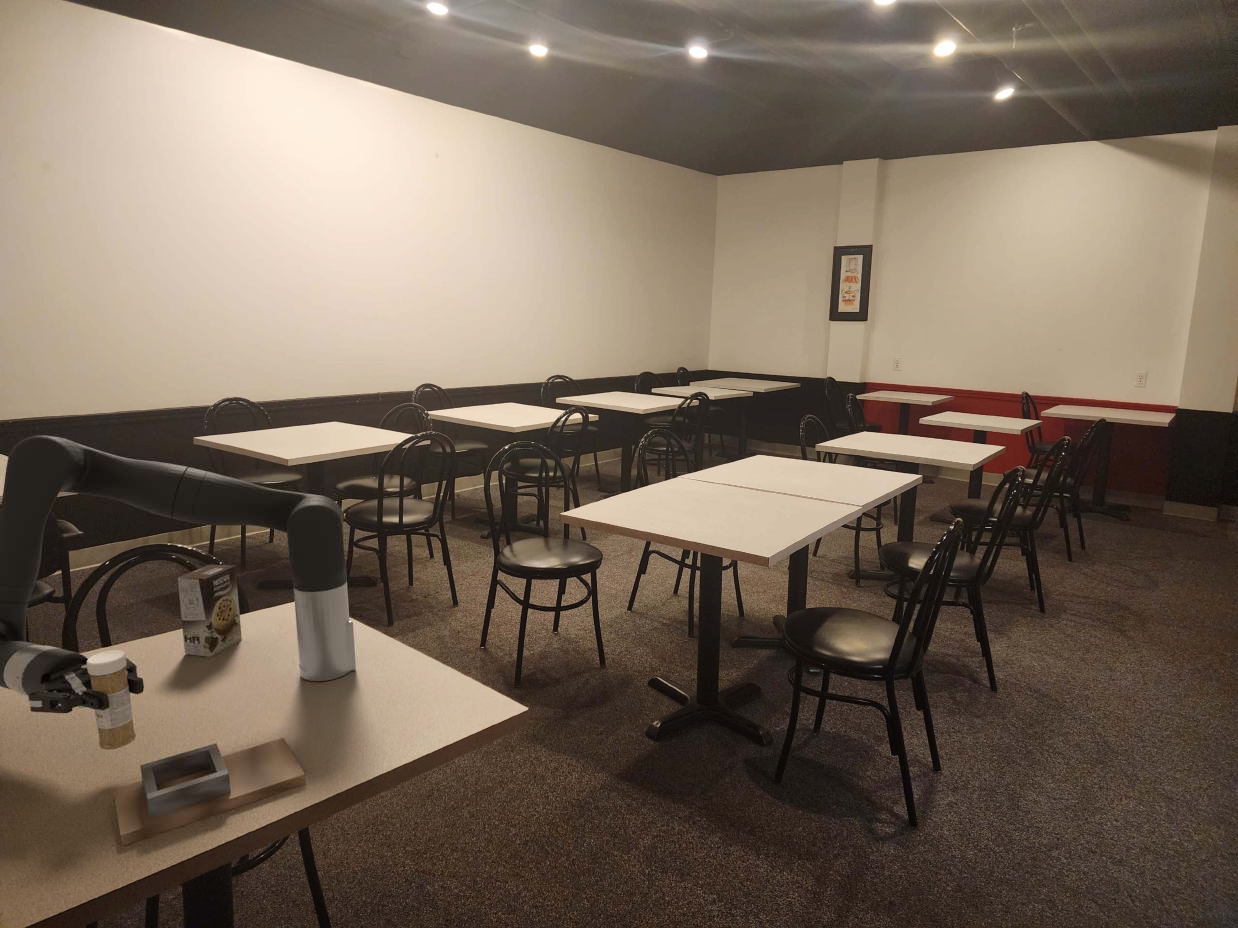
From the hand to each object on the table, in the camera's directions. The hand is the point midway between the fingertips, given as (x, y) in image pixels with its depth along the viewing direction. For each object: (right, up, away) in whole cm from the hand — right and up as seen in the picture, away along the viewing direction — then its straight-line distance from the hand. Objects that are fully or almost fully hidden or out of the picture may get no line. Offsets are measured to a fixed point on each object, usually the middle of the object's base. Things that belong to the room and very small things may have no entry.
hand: (123, 694), depth 107 cm
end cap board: (+13, -13, -1) cm, 19 cm away
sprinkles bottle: (-2, -8, +3) cm, 9 cm away
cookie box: (-12, -5, +47) cm, 49 cm away
